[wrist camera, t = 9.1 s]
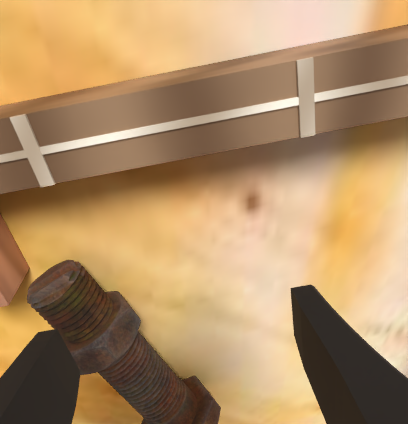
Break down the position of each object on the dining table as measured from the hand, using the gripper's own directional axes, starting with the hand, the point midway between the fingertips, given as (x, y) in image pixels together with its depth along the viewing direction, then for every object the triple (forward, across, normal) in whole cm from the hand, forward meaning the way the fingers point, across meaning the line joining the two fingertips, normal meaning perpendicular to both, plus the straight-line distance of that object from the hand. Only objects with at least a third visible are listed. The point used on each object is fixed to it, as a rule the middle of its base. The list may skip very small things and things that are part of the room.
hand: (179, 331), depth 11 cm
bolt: (+10, +5, +10) cm, 15 cm away
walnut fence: (+9, -2, -1) cm, 10 cm away
